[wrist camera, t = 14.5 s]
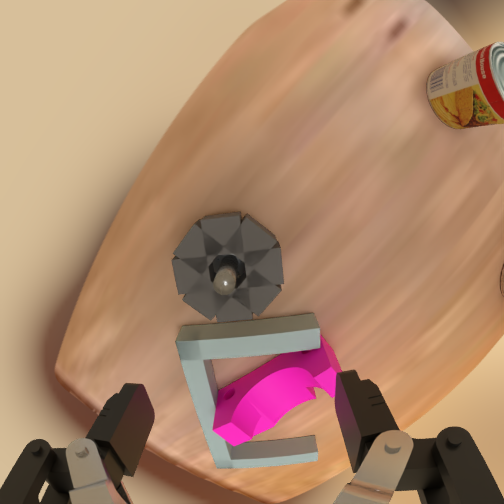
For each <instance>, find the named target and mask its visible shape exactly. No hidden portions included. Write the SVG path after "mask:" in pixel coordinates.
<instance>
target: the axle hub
mask: <svg viewBox="0 0 504 504" xmlns="http://www.w3.org/2000/svg"><path fill="white" fill-rule="evenodd" d="M213 266H214V272H215V273H216V276H215V279H214V282H213V287H214V289H215V291H216V292H217V293H219V294H221V295H228V294H230V293H232V292H233V290H234V288H235V283H236V279H238V278H240V276H241V275H242V274H243V273H244V271H245V270H246V269H245V263H244V262H243V261H241V260H240V259H239V258H237V257H236V256H235V255H233V254H226V255H217V256H216V258H215V259H214V260H213Z"/></svg>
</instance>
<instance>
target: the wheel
mask: <svg viewBox="0 0 504 504" xmlns="http://www.w3.org/2000/svg"><path fill="white" fill-rule="evenodd" d="M173 254H174V255H176V256H175V257H174V258H173V259H172V265H173V270H174V275H175V280H176V285H177V290H178V295H179V294H185V296H184V297H183V299H182V300H183V301H184V302H185V303H187V304H188V305H190V306H191V307H192V308H194V309H195V310H197V311H198V312H199V313H201V314H202V315H204V316H205V317H206V318H208V319H209V320H212V319H213V318H214V316H215V315H216V318H217V322H228V321H239V320H250V319H253V313H255V314H256V315H257V316H259V315H260V314H261V313H262V312H263V311H264V310H265V309H266V307H267V306H268V305H269V304H270V303H271V302H272V301H273V300H274V298H275V297H276V296H277V295H278V294H279V293H280V292H281V291H282V289H281V285H280V284H284V279H283V268H282V257H281V247H280V245H279V242H278V241H277V240H276V237H275V235H274V234H273V233H271V232H270V231H269V230H268V229H266V228H265V227H264V226H263V225H261V224H260V223H259V222H257V221H256V220H255V219H254V218H252V217H251V216H250V215H248V214H246V215H245V217H244V218H243V219H241V212H233V213H225V214H217V215H209V216H205V217H204V218H202V219H201V220H198V221H197V222H196V223H195V224H194V225H193V226H192V228H191V229H190V230H189V232H188V233H187V235H186V236H185V237H184V239H183V240H182V241H181V243H180V244H179V246H178V247H177V248H176V250H175V251H174V253H173ZM226 254H233V255H235V256H236V257H237V258H239V259H240V260H241V261H243V262H244V263H245V269H246V270H245V271H244V273H243V274H242V275H241V276H240V278H238V279H236V283H235V288H234V290H233V292H232V293H230V294H228V295H221V294H219V293H217V292H216V291H215V289H214V287H213V282H214V279H215V276H216V273H215V272H214V266H213V260H214V259H215V258H216V256H217V255H226Z"/></svg>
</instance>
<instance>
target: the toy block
mask: <svg viewBox="0 0 504 504" xmlns="http://www.w3.org/2000/svg"><path fill="white" fill-rule="evenodd" d="M338 372H342V370H341V368H340V365H339V363H338V360H337V358H336V356H335V353H334V351H333V349H332V348H331V347H330V346H329V344H328V343H327V342H326V341H325V339H324V338H323V337H322V335H321V334H320V348H317V349H311V350H303V351H296V352H288V353H282V354H280V355H279V356H277V357H276V358H274V359H272V360H271V361H269V362H267V363H266V364H264V365H262V366H261V367H259V368H257V369H256V370H254V371H252V372H251V373H249V374H247V375H245V376H244V377H242V378H240V379H238V380H237V381H235V382H233V383H231V384H230V385H228V386H226V387H224V388H222V389H220V390H219V391H218V397H217V403H216V410H215V416H214V423H213V429H212V431H214V432H215V433H216V434H218V435H219V436H220V437H222V438H223V439H224V440H226V441H227V442H229V443H230V444H231V445H233V446H236V445H239V444H241V443H243V442H246V441H248V440H250V439H252V437H253V436H255V435H257V434H259V433H261V432H263V431H266V430H268V429H270V428H272V427H274V426H275V424H276V423H277V422H278V421H279V420H280V418H281V417H282V416H283V415H285V414H286V413H287V412H288V411H289V410H291V409H292V408H294V407H295V406H297V405H299V404H301V403H303V402H305V401H308V400H311V399H316V395H315V391H314V387H318V388H321V389H324V390H325V391H326V392H327V393H328V394H329V395H330V396H331V397H332V398H333V397H334V396H335V387H336V374H337V373H338Z"/></svg>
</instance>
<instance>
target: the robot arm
mask: <svg viewBox="0 0 504 504" xmlns="http://www.w3.org/2000/svg"><path fill="white" fill-rule="evenodd" d="M501 291H502V294H503V296H504V267H503V270H502V276H501ZM335 409H336V414H337V418H338V421H339V424H340V428H341V431H342V435H343V438H344V442H345V445H346V449H347V452H348V456H349V459H350V463H351V467H352V470H353V473H356V472H357V473H356V474H355V476H354V478H353V479H352V481H351V482H350V483H347V485H346V486H345V487H344V488H343V490H342V491H341V493H340V494H339V496H338V497H337V498H336V500H335V501H334V503H333V504H389V502H390V500H391V497H392V496H393V493H394V491H407V490H417V491H418V494H419V497H420V501H421V504H504V498H503V496H502V494H501V492H500V490H499V488H498V486H497V484H496V482H495V480H494V478H493V476H492V474H491V472H490V470H489V468H488V466H487V464H486V462H485V460H484V458H483V457H482V455H481V453H480V451H479V449H478V447H477V446H476V444H475V442H474V440H473V439H472V437H471V435H470V434H469V432H468V431H466V430H465V429H463V428H461V427H448V428H446V429H444V430H442V431H441V432H440V433H439V434H438V436H437V438H429V439H414V438H411V437H410V436H409V435H408V434H407V433H405V432H403V431H400V430H399V428H398V426H397V424H396V422H395V420H394V418H393V416H392V414H391V412H390V410H389V408H388V406H387V404H386V403H385V400H384V398H383V396H382V394H381V392H380V390H379V388H378V386H377V385H376V384H374V383H373V382H372V381H370V380H369V379H367V380H362V381H360V379H359V376H358V374H357V372H356V370H349V371H344V372H338V373H337V374H336V387H335ZM154 418H155V414H154V409H153V407H152V404H151V402H150V399H149V397H148V394H147V392H146V389H145V387H144V385H143V384H133V383H125V384H124V386H123V387H122V389H121V391H120V392H119V394H118V393H116V394H114V395H113V396H112V397H111V398H110V399H108V400H107V402H106V404H105V405H104V407H103V410H101V412H100V414H99V416H98V417H97V419H96V421H95V422H94V424H93V426H92V428H91V429H90V431H89V432H88V434H87V436H86V438H81V439H77V440H75V441H73V442H71V443H70V444H69V445H68V447H67V448H52V447H51V446H50V445H49V443H48V442H47V441H45V440H43V439H36V440H33V441H31V442H30V443H28V444H27V445H26V447H25V448H24V450H23V452H22V453H21V455H20V456H19V458H18V460H17V461H16V463H15V465H14V466H13V468H12V470H11V471H10V473H9V475H8V477H7V479H6V480H5V482H4V484H3V485H2V487H1V489H0V504H133V502H132V500H131V498H130V496H129V494H128V492H127V490H126V488H125V486H124V483H123V482H122V481H121V480H122V477H123V475H126V476H131V477H133V476H134V473H135V471H136V468H137V465H138V462H139V460H140V457H141V455H142V452H143V449H144V447H145V444H146V441H147V439H148V436H149V433H150V431H151V428H152V426H153V423H154ZM45 480H46V481H47V482H48V484H49V485H48V487H47V489H46V492H45V494H44V496H43V498H42V500H41V502H39V499H38V495H39V493H40V490H41V488H42V486H43V484H44V482H45Z"/></svg>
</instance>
